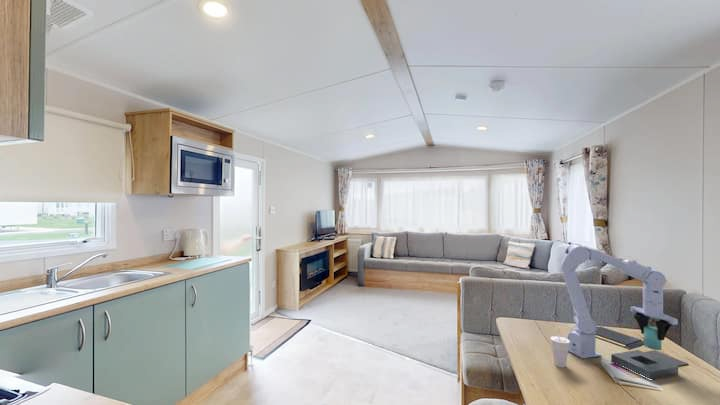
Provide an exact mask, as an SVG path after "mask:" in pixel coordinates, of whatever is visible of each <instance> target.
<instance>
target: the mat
mask: <svg viewBox="0 0 720 405" xmlns="http://www.w3.org/2000/svg"><path fill="white" fill-rule="evenodd" d="M643 352H644V353H647V354H649V355H652V356H654V357H656V358H659V359H661V360H664V361H666V362H669V363H671V364H673V365H676V366H678V367H684V366H688V365H689V363H687V362H685V361H683V360H680V359H678V358H675V357H673V356H671V355H668V354H665V353H664V352H663V353H662V352H660V351H659V350H654V349H652V350H649V351H643Z"/></svg>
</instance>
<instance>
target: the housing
mask: <svg viewBox="0 0 720 405" xmlns="http://www.w3.org/2000/svg"><path fill="white" fill-rule="evenodd" d="M644 352H645V351H642V350H639V349H635V350H629V351H623V352H617V353H616V352H615V353H611V354H610V355H611V357H610V358H611V359H610V361H611V363H612V362H614V363H617V364H619V365H621V366H624V367H626V368H628V369H630V370H632V371H634V372H636V373H638V374H641V375H643V376H645V377H647V378H649V379H653V380H652V381H654V380H660V379H664V378H668V377H673V376H678V375H679V366H676V365H673V364H671V363H669V362H666V361H664V360H661V359H659V358H656V357H654V356H652V355H649V354H647V353H644ZM614 363H613V364H614ZM619 365H618V366H619ZM621 366H620V367H621Z"/></svg>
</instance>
